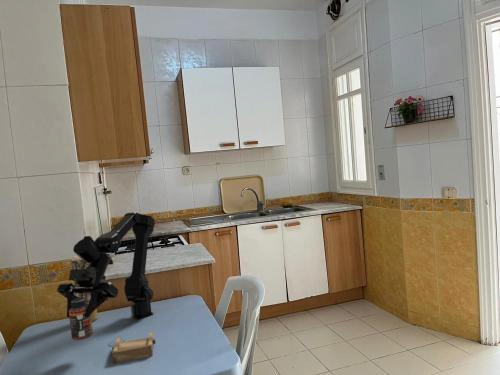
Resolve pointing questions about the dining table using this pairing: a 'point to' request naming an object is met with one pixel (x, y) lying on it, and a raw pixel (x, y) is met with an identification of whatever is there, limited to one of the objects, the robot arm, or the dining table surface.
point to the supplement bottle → (80, 320)
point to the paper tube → (79, 264)
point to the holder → (133, 349)
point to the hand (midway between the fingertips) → (76, 316)
